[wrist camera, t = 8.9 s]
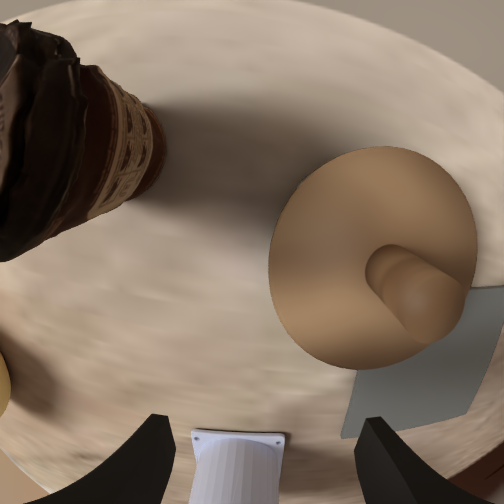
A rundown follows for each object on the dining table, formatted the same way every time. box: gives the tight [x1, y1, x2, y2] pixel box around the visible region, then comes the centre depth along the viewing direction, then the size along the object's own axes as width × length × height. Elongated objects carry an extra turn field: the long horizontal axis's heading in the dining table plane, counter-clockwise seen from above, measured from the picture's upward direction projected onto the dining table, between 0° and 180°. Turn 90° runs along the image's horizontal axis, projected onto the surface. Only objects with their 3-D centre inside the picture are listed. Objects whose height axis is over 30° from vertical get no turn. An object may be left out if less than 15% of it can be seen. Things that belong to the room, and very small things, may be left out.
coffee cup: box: [0, 20, 166, 262], centre depth 11 cm, size 9×8×13 cm
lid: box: [268, 146, 477, 370], centre depth 12 cm, size 12×12×6 cm
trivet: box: [341, 285, 504, 439], centre depth 20 cm, size 14×14×1 cm
